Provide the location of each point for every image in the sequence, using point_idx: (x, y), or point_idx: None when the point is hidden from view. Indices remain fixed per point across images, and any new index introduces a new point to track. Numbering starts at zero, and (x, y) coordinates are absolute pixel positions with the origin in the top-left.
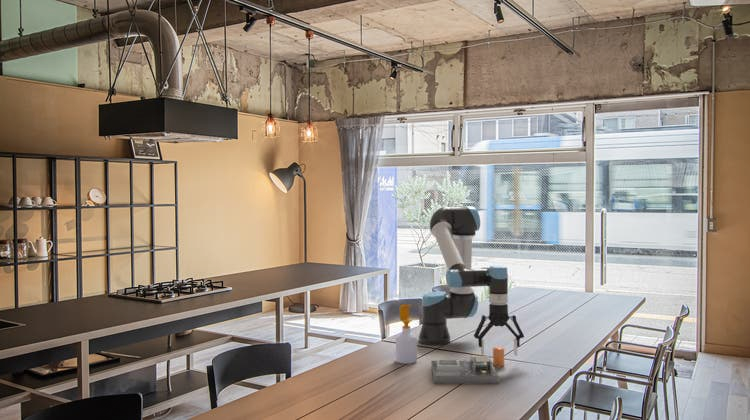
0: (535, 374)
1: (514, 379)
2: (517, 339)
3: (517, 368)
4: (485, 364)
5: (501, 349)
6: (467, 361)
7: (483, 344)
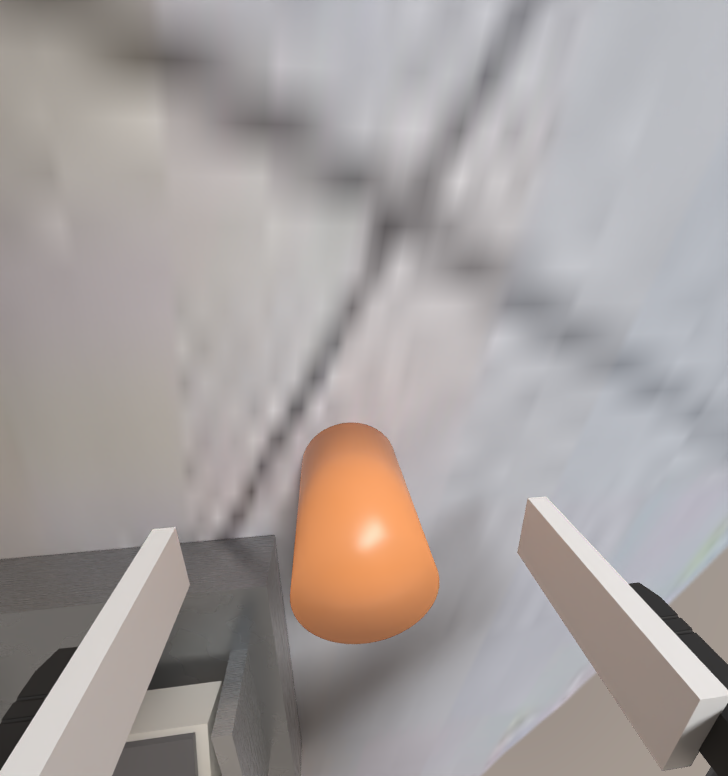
0: (537, 611)
1: (395, 689)
2: (709, 743)
3: (472, 523)
4: (220, 670)
5: (394, 623)
6: (42, 629)
7: (118, 748)
